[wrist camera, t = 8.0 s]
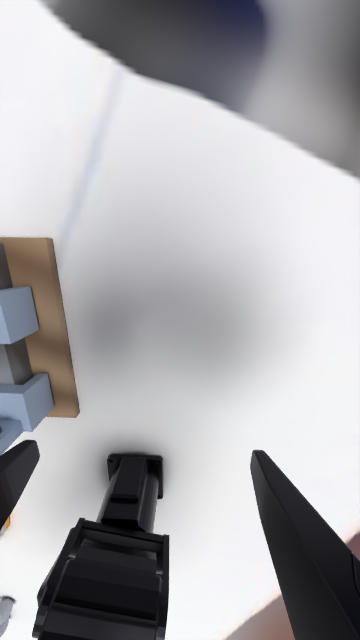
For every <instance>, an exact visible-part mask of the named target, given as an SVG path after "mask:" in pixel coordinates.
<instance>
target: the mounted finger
mask: <svg viewBox="0 0 360 640" xmlns="http://www.w3.org/2000/svg"><path fill="white" fill-rule="evenodd" d="M53 408H54V403H53V398H52V393H51V388H50V383H49V378H48V373H38V374H37V375H35V376H34V377H33V378H31V379H30V380H29V381H28V382H26V383H25V384H24V385H10V384H0V456H1V455H2V454H3V453H4V452H5V450H6V449H7V448H8V447H9V446H10V445H11V444H12V443H13V442H14V441H15V440H16V439H17V438H18V437H19V436H20V434H21V433H22V432H23V431H30V432H32V431H33V430H34V429H35V428H36V427H37V426H38V424H39V423H40V422H41V421H42V420H43V419H44V418H45V417H46V415H47V414H48V413H49V412H50V411H51V410H52V409H53Z"/></svg>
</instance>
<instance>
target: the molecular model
mask: <svg viewBox="0 0 360 640" xmlns="http://www.w3.org/2000/svg"><path fill="white" fill-rule="evenodd" d="M12 608H13V602H12V600H11V599H10V598H5V599H3V600H2V601H1V602H0V637H1V636H2V635H3V634H4V632H5V631H6V629H7V626H8V623H9V615H10V614H11V611H12Z"/></svg>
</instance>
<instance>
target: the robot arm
mask: <svg viewBox="0 0 360 640" xmlns="http://www.w3.org/2000/svg"><path fill="white" fill-rule="evenodd" d="M39 457H40V454H39V450H38V446H37V442H36V441H35V440H24V441H22V442H21V443H19V444H18V445H16V446H15V447H13V448H11V449H10V450H8V451H7V452H5V453H4V454H2V455H1V456H0V531H1V529H2V527H3V526H4V524H5V522H6V521H7V519H8V517H9V516H10V514H11V512H12V511H13V509H14V507H15V506H16V504H17V502H18V500H19V498H20V496H21V494H22V492H23V490H24V488H25V486H26V485H27V483H28V481H29V479H30V477H31V475H32V473H33V471H34V469H35V467H36V465H37V463H38V461H39ZM107 464H108V472H109V481H110V483H109V486H108V489H107V492H106V495H105V497H104V500H103V503H102V506H101V509H100V512H99V515H98V518H97V521H96V522H93V521H88V520H85V518H79V520H78V522H77V525H76V527H73V528H72V529H71V530H70V532H69V535H68V537H67V539H66V542H65V544H64V546H63V549H62V551H61V553H60V555H59V556H58V558H57V560H56V561H55V563H54V565H53V567H52V568H51V570H50V572H49V573H48V575H47V577H46V578H45V580H44V582H43V584H42V585H41V587H40V590H39V592H38V595H37V601H38V607H39V608H38V611H37V615H36V620H35V624H34V628H33V632H32V637H33V638H38V640H164V639H165V631H166V623H167V612H168V598H169V535H165V534H164V535H158V534H153V527H154V520H155V512H156V504H157V499H162V498H163V459H162V458H161V457H152V456H130V455H109V457H108V459H107ZM250 469H251V475H252V480H253V485H254V490H255V495H256V500H257V505H258V510H259V515H260V519H261V523H262V527H263V530H264V534H265V537H266V541H267V544H268V548H269V551H270V554H271V558H272V561H273V565H274V568H275V572H276V575H277V579H278V582H279V586H280V589H281V592H282V596H283V599H284V603H285V606H286V610H287V613H288V617H289V620H290V623H291V627H292V630H293V634H294V637H295V640H360V560H359V559H358V558H357V557H356V556H355V555H354V554H352V552H351V550H350V549H349V548H348V547H347V545H346V544H345V543H344V542H343V541H342V540H341V538H340V537H339V536H338V535H337V534H336V533H335V532H334V530H333V529H332V528H331V527H330V526H329V525H328V524H327V522H326V521H325V520H324V519H323V518H322V517H321V516H320V514H319V513H318V512H317V511H316V510H315V509H314V508H313V506H312V505H311V504H310V503H309V502H308V501H307V500H306V498H305V497H304V496H303V495H302V494H301V493H300V491H299V490H298V489H297V488H296V487H295V486H294V485H293V483H292V482H291V481H290V480H289V479H288V478H287V477H286V475H285V474H284V473H283V472H282V471H281V470H280V469H279V467H278V466H277V465H276V464H275V463H274V462H273V461H272V459H271V458H270V457H269V456H268V455H267V454H266V453H265V452H264V451H263V450H253V452H252V457H251V464H250Z"/></svg>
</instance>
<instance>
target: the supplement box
mask: <svg viewBox="0 0 360 640" xmlns="http://www.w3.org/2000/svg"><path fill="white" fill-rule="evenodd" d="M9 520H10V519H9V517H8V519H7V521H6V522H5V524H4V526H3V527H2V529H1V531H0V539H1V538H2V536H3V535H4V533H5V531H6V530H7V528H8V527H9V524H10V522H9Z"/></svg>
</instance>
